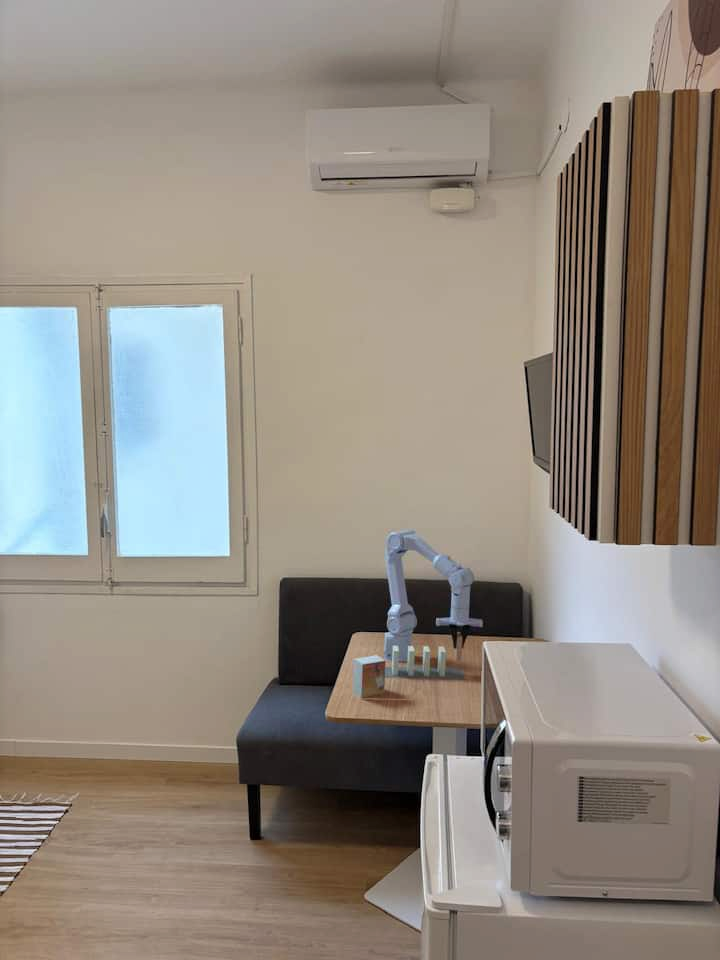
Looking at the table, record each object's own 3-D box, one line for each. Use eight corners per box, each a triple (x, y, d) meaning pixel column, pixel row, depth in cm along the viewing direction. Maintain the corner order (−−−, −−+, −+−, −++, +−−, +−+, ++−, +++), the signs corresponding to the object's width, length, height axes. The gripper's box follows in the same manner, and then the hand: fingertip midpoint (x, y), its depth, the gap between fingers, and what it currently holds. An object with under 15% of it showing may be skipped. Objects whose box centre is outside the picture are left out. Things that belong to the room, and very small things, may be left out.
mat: (380, 678, 215) (380, 677, 215) (378, 668, 224) (378, 666, 224) (465, 680, 216) (465, 679, 216) (460, 669, 225) (460, 668, 225)
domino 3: (424, 675, 218) (425, 651, 217) (422, 670, 223) (423, 646, 222) (429, 675, 218) (430, 651, 217) (427, 670, 223) (428, 646, 222)
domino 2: (408, 675, 218) (409, 651, 217) (407, 669, 223) (408, 645, 222) (413, 675, 218) (414, 651, 217) (412, 669, 223) (413, 645, 222)
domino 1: (393, 675, 217) (393, 650, 217) (391, 669, 222) (392, 645, 222) (398, 675, 217) (398, 651, 217) (396, 669, 222) (397, 645, 222)
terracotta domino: (456, 661, 217) (457, 636, 216) (454, 655, 222) (455, 631, 221) (461, 661, 217) (462, 637, 216) (458, 656, 222) (460, 632, 221)
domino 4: (439, 676, 218) (440, 651, 217) (437, 670, 223) (438, 646, 222) (444, 676, 218) (445, 651, 217) (442, 670, 223) (443, 646, 222)
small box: (361, 699, 200) (362, 664, 199) (352, 692, 204) (353, 658, 203) (384, 694, 203) (386, 660, 202) (375, 687, 208) (376, 654, 207)
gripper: (439, 609, 213) (437, 651, 215) (485, 610, 213) (483, 652, 215) (436, 602, 220) (434, 643, 222) (480, 604, 220) (478, 644, 222)
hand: (458, 647), depth 219 cm, fingers closed on terracotta domino, 1 cm apart
